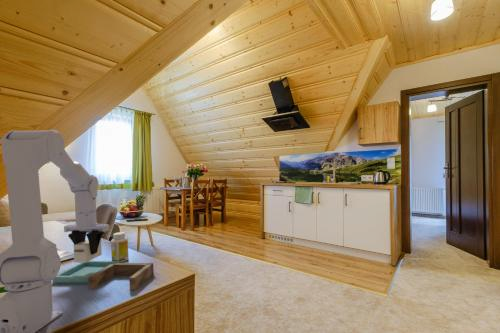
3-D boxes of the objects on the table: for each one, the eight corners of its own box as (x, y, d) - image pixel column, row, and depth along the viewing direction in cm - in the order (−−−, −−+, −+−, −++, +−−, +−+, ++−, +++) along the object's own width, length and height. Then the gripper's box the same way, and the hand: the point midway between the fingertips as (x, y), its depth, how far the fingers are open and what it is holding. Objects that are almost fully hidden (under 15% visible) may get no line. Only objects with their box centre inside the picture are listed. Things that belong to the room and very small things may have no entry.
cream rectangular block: (84, 263, 78) (83, 245, 78) (72, 263, 78) (71, 245, 78) (101, 254, 85) (101, 238, 85) (90, 254, 86) (90, 238, 86)
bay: (134, 290, 70) (134, 277, 70) (88, 289, 71) (88, 277, 71) (153, 274, 80) (153, 263, 80) (113, 273, 82) (112, 262, 82)
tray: (91, 284, 75) (91, 277, 75) (52, 283, 76) (52, 277, 76) (119, 266, 87) (119, 260, 87) (85, 266, 89) (85, 260, 89)
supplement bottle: (130, 257, 96) (129, 230, 96) (125, 262, 91) (123, 234, 91) (115, 258, 96) (114, 231, 96) (108, 264, 90) (107, 235, 90)
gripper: (114, 209, 85) (116, 249, 85) (75, 210, 87) (77, 249, 87) (99, 213, 78) (101, 256, 78) (57, 214, 80) (59, 256, 80)
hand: (87, 253), depth 82 cm, fingers closed on cream rectangular block, 4 cm apart
